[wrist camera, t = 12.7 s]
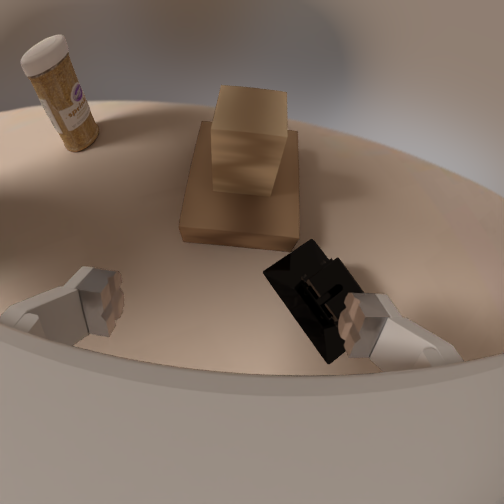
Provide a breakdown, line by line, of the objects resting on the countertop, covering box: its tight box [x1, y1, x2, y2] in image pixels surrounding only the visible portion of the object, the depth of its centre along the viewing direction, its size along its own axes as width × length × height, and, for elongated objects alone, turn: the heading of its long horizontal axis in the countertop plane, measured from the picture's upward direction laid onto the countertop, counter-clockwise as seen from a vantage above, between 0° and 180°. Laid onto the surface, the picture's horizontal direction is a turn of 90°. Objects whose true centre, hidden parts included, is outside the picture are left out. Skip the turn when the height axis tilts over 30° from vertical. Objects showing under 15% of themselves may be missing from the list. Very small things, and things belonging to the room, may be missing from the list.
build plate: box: [263, 239, 364, 364], centre depth 22 cm, size 12×7×5 cm, turn 35°
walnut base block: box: [179, 121, 299, 252], centre depth 25 cm, size 9×11×3 cm
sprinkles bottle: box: [21, 35, 99, 152], centre depth 21 cm, size 5×5×13 cm
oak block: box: [211, 85, 288, 197], centre depth 20 cm, size 4×4×7 cm
